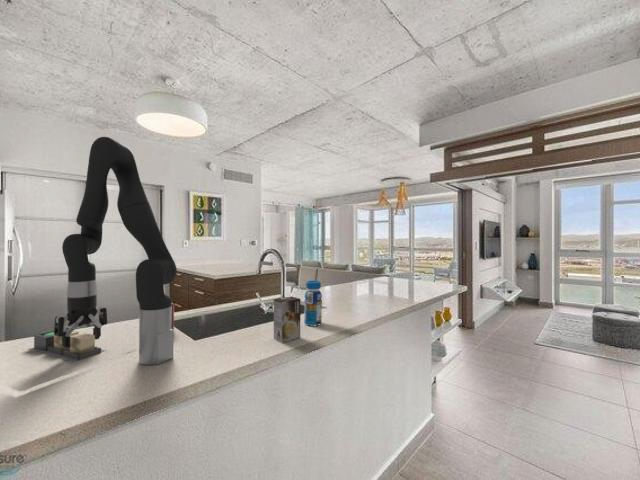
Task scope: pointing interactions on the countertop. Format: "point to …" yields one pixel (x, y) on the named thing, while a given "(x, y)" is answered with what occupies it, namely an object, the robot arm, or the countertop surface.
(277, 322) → the coffee box
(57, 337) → the block
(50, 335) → the button
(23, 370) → the countertop surface
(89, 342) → the loose billet
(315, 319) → the beverage bottle
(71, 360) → the grey compartment tray
